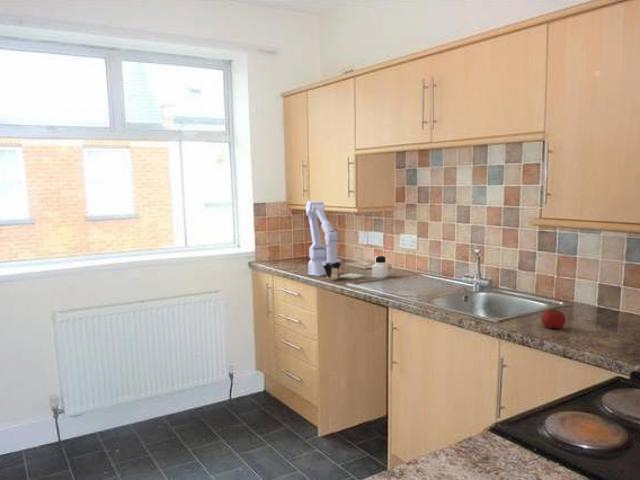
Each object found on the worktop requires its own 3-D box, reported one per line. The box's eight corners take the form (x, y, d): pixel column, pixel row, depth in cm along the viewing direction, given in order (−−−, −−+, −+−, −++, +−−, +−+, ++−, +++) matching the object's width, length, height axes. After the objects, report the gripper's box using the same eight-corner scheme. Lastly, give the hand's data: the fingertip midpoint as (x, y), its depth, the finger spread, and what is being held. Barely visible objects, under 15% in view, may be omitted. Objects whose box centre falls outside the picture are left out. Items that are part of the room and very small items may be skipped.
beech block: (326, 279, 286) (326, 268, 285) (331, 277, 289) (331, 267, 289) (332, 279, 283) (332, 269, 282) (337, 278, 286) (337, 268, 286)
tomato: (548, 323, 191) (549, 305, 190) (569, 328, 185) (570, 309, 184) (536, 327, 186) (537, 308, 185) (557, 332, 180) (558, 312, 179)
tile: (339, 276, 291) (339, 275, 291) (350, 274, 299) (350, 273, 299) (353, 278, 285) (353, 277, 285) (363, 276, 292) (363, 275, 292)
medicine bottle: (388, 276, 292) (388, 255, 290) (383, 278, 286) (383, 257, 284) (377, 275, 295) (377, 255, 294) (371, 277, 289) (371, 256, 288)
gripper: (328, 254, 277) (328, 279, 278) (345, 251, 287) (345, 275, 289) (319, 253, 281) (319, 277, 283) (335, 251, 292) (336, 273, 294)
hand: (331, 276), depth 286 cm, fingers open, 5 cm apart
